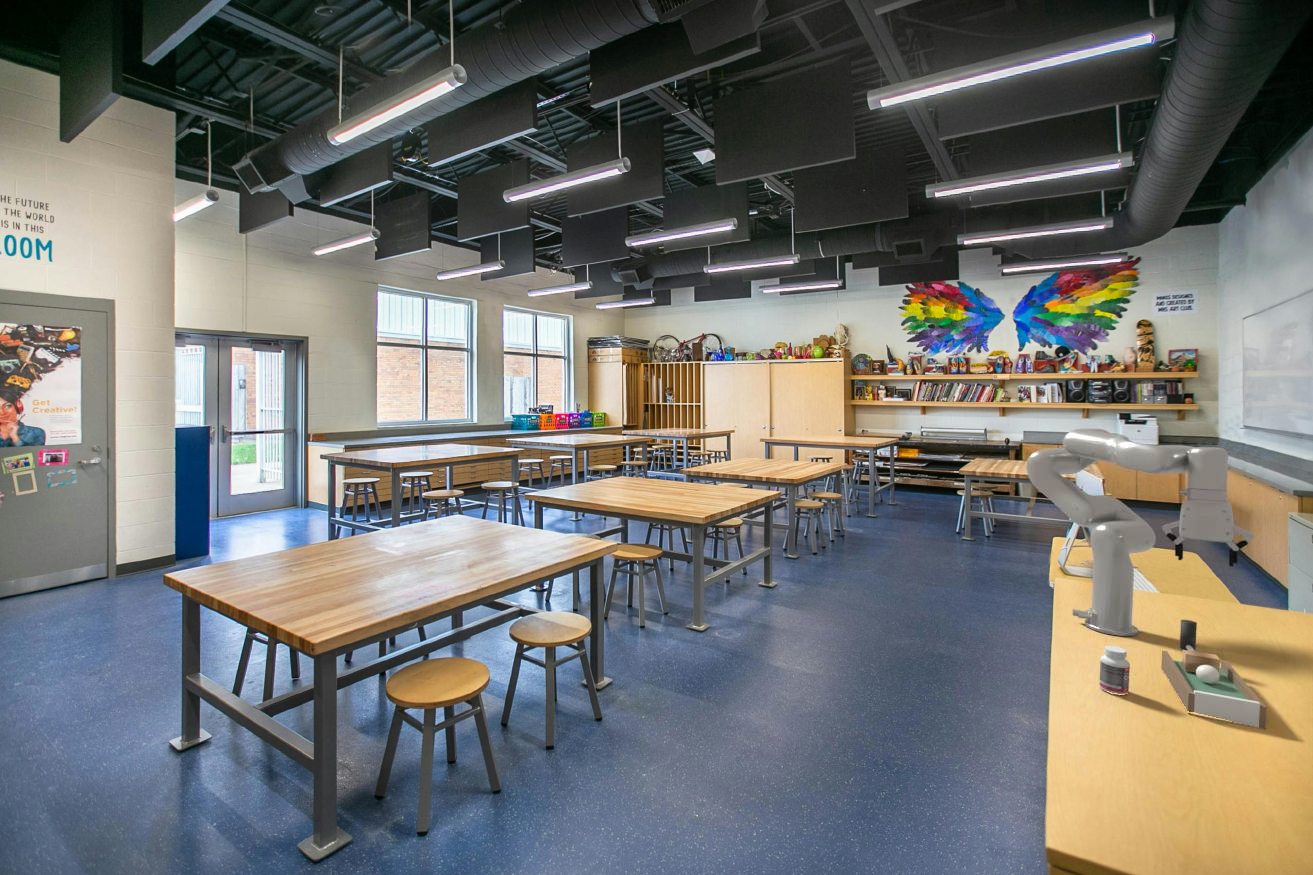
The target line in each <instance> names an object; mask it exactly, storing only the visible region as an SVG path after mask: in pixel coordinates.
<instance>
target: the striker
mask: <svg viewBox="0 0 1313 875" xmlns="http://www.w3.org/2000/svg"><path fill="white" fill-rule="evenodd" d="M1197 624H1198V623H1197V621H1193V620H1188V619H1180V631H1179V632H1180V634H1179V649H1180V650H1182V659H1181V662H1182V667H1183V668H1184V670H1185V671H1189V672H1195V673H1196V669H1197V668H1198V667H1199V666H1201V665H1209V666H1212V667H1214V668H1215V669H1216V670H1217V671H1218V672H1219V669H1220V668H1221V659H1220V658H1219V656H1217V654H1213V653H1212V654H1211V653H1205V652H1200V651H1196V649H1197V648H1196V646H1197V631H1198V630H1197V627H1198V625H1197Z"/></svg>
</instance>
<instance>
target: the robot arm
mask: <svg viewBox="0 0 1313 875" xmlns="http://www.w3.org/2000/svg"><path fill="white" fill-rule="evenodd" d="M1062 446H1063V448H1061V447H1060V448H1044V449H1038V450H1037V451H1034V452H1032V453H1031V454H1030V455H1029V456H1028V458H1027V461H1026V473H1027V476H1028V478H1029V480H1030V482H1031V484H1032V485H1033V487H1034V488H1036V489H1037V490H1038V491H1039V492H1040V493H1042V494H1043V495H1044V496H1045V497H1046V498H1047V499H1049V501H1051V502H1052V503H1053V504H1054V505H1055V506H1056V507H1057V508H1058V509H1059V510H1060V511H1061V512H1062V513H1064V515H1066V516H1067V517H1068V518H1069V519H1070V521H1072V522H1073V523H1075V524H1076V525H1077V526H1079V527H1081V528H1093V529H1092V530H1091V532H1090V536H1089V538H1090V546H1091V552H1092V590H1091V592H1092V594H1091V595H1092V596H1091V607H1089V609H1085V610H1080V609H1074V608H1072V616H1073V617H1077V618H1078V619H1084V625H1085V626H1086V627H1087V628H1089V629H1091V630H1093V631H1096V632H1099V633H1101V634H1102V633H1103V634H1107V635H1113V636H1121V637H1134V636H1137V635H1139V629H1138V627H1137V626H1135V625H1133V607H1134V606H1133V603H1134V580H1135V579H1134V577H1135V571H1134V570H1135V569H1134V564H1133V562H1132V559H1131V557H1130V556H1131V555H1130V554H1135V553H1136V554H1137V553H1143V552H1146V551H1150V550H1151V549H1152V548H1153V547H1154V546H1155V544H1156V534H1155V531H1154V530H1153V527H1151V526H1150V524H1149V523H1147V522H1146V521H1145V520H1144V519H1143V518H1141V517H1140V516H1139V515H1138V514H1137V513H1136V512H1134V511H1133V510H1132V509H1131V508H1130V507H1128V506H1127V505H1126V504H1125V503H1123V501H1121V500H1120V499H1117V498H1115V497H1113V496H1110V495H1105V494H1104V495H1103V494H1101V495H1097V494H1096V495H1091V494H1089V493H1087V492H1086V491H1085V490H1084V489H1082V488H1080V486H1078V485H1077V484H1076V483H1075V482H1073V481H1072V480H1070V479H1068V478H1066V477H1064V475H1073V474H1077V473H1080V472H1082V471H1084V470H1085V469H1087V468H1089V467H1090V466H1092V465H1094V464H1095V463H1096V462H1098V461H1099V462H1100V461H1101V462H1105V463H1109V464H1110V463H1111V464H1115V465H1116V466H1119V467H1120V468H1124V469H1126V470H1127V469H1128V470H1132V471H1137V472H1141V473H1147V474H1154V475H1167V474H1168V475H1169V474H1173V475H1174V474H1187V480H1186V481H1187V483H1186V484H1187V486H1186V487H1187V488H1185V489H1179V495H1181V496H1185V497H1186V498H1185V499H1183V500H1182V503H1181V505H1180V514H1179V520H1177V521H1176V520H1175V521H1173V522H1170V523H1166V524H1164V525H1162V526H1161V529H1162V531H1163V532H1164V534H1165V535H1166V537H1167V538H1168V539H1169V541H1171V542H1172V543H1173V544H1174V556H1175V557H1177V560H1178V561H1183V558H1184V544H1183V542H1184V541H1186V540H1193V541H1203V542H1212V543H1221V544H1222V543H1223V544H1224V543H1225V544H1226V545H1227V546H1228V547H1229V548H1230V549H1229V556H1228V557H1229V558H1228V560H1229V562H1228V563H1229V564H1228V566H1229V567H1234V564H1238V551H1239V550H1241V549H1243V548H1244V547H1246V546H1248V545H1249V543H1250V542H1251V541H1252V539H1253V538H1254V537H1255V536H1254V533H1252V532H1250V531H1248V530H1246V529H1243V528H1241V527H1239V526H1237V525H1235V524H1234V523H1235V522H1234V512H1233V511H1234V510H1233V507H1232V503H1231V502H1230V501H1228V470H1229V469H1228V468H1229V455H1228V454H1229V453H1228V451H1227V449H1225V448H1222V447H1216V446H1215V447H1213V446H1212V447H1210V446H1209V447H1208V446H1199V447H1198V446H1196V447H1195V446H1190V445H1185V444H1184V445H1181V444H1177V445H1176V444H1175V445H1173V444H1170V445H1169V444H1168V445H1167V444H1166V445H1153V444H1147V443H1139V442H1135V441H1131V440H1130V439H1129V437H1127V436H1126V435H1123V434H1118V433H1111V432H1109V431H1107V430H1105V429H1103V428H1076V429H1073V430H1071V431H1069V432H1067V433H1066V434H1065V436H1064V437H1063V438H1062ZM1062 475H1063V476H1062ZM1177 527H1178V534H1179V535H1178V536H1176V535H1175V534H1174V533H1173V532H1172V530H1171V529H1174V528H1177ZM1234 532H1235V533H1237V534H1239V535H1241V536H1243V538H1242V540H1240V541H1238V542H1235V540H1234V535H1235V534H1234Z"/></svg>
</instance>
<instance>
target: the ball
mask: <svg viewBox="0 0 1313 875" xmlns="http://www.w3.org/2000/svg"><path fill="white" fill-rule="evenodd" d="M1196 675H1197V677H1198V678H1199V679H1200V680H1201V681H1202V682H1204V683H1208V684H1214V683H1216V682H1218V681H1219V678H1220V675H1219V672H1218V671H1217V670H1216V669H1215V668H1214V667H1212V666H1209V665H1201V666H1199V667H1198V668H1197V669H1196Z"/></svg>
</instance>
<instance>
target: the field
mask: <svg viewBox="0 0 1313 875" xmlns="http://www.w3.org/2000/svg"><path fill="white" fill-rule="evenodd" d="M1160 667H1161V670H1162V672H1163V671H1164V672H1163V674H1164V673H1165V674H1166V675H1165V674H1164V675H1165V677H1166V676H1167V677H1166V679H1167V678H1168V679H1169V681H1170V682H1169V681H1168V682H1169V684H1170V683H1171V684H1170V685H1172V686H1173V688H1174V689H1173V688H1172V689H1173V691H1174V690H1175V691H1176V693H1177V694H1178V696H1179V698H1180V699H1181V701H1182V703H1183V704H1184V706H1185V707H1186V709H1187V711H1189V712H1196V713H1199V714H1204V715H1208V716H1212V717H1216V718H1221V719H1225V720H1229V721H1232V722H1236V723H1235V724H1237V723H1240V724H1239V725H1242V724H1246V725H1245V726H1247V725H1250V726H1249V727H1252V726H1254V727H1253V728H1257V727H1259V728H1258V729H1262V728H1263V729H1262V730H1266V727H1267V708H1268V707H1267V706H1266V704H1265V703H1264V702H1263V701H1262V700H1261V699H1260V698H1259V696H1257V694H1256V693H1255V692H1254V691H1253V690H1252V689H1251V687H1250V686H1249V685H1248V684H1247V682H1246V681H1245V680H1244V679H1243V677H1241V676H1240V673H1238V672H1237V671H1236V670H1235V669H1234V667H1233V666H1232V665H1231V664H1230V662H1228V661H1227V660H1223V659H1220V669H1219V675H1220V678H1219V681H1218V682H1216V683H1214V684H1208V683H1204V682H1202V681H1201V680H1200V679H1199V678H1198V677H1197V675H1196V673H1195V672H1189V671H1185V670H1184V668H1183V667H1182V660H1181V661H1180V660H1174V659H1173V658H1172V656H1171V655H1170V654H1169V652H1168V651H1167V650H1161V666H1160ZM1168 679H1167V680H1168ZM1172 686H1171V687H1172ZM1175 691H1174V692H1175ZM1176 693H1175V694H1176ZM1177 694H1176V695H1177ZM1178 696H1177V697H1178ZM1179 698H1178V699H1179ZM1181 701H1180V702H1181ZM1182 703H1181V704H1182Z"/></svg>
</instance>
